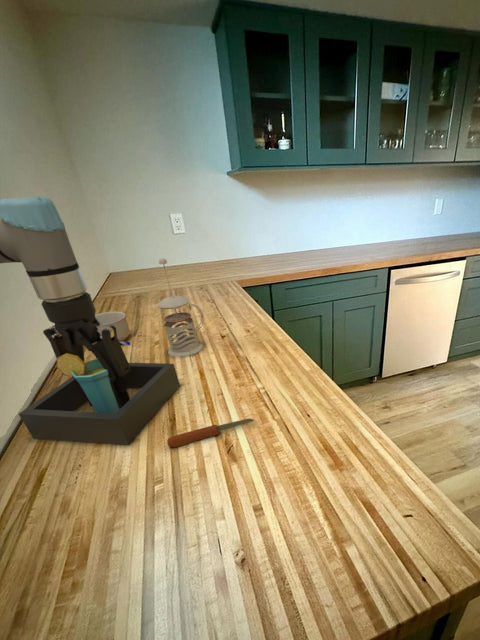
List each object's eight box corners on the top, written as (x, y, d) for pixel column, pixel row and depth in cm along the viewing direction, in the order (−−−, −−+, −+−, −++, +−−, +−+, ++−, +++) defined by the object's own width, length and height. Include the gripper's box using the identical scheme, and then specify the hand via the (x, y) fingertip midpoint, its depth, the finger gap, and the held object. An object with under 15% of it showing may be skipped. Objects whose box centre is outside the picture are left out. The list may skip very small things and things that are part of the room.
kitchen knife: (169, 450, 59) (166, 441, 58) (169, 445, 61) (166, 436, 60) (255, 426, 64) (254, 417, 63) (253, 421, 65) (252, 413, 64)
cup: (150, 392, 77) (130, 331, 69) (150, 411, 70) (127, 346, 63) (82, 408, 73) (52, 346, 65) (75, 429, 66) (42, 362, 59)
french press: (165, 347, 98) (139, 258, 86) (204, 337, 102) (185, 252, 90) (170, 360, 90) (143, 265, 78) (213, 349, 95) (193, 257, 82)
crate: (33, 438, 65) (18, 413, 62) (102, 383, 82) (93, 361, 79) (129, 445, 61) (117, 419, 58) (180, 386, 78) (173, 363, 75)
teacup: (127, 331, 111) (119, 308, 107) (137, 340, 104) (129, 316, 100) (81, 345, 104) (70, 320, 100) (88, 356, 96) (76, 330, 92)
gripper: (126, 288, 61) (161, 395, 72) (36, 290, 64) (83, 391, 76) (98, 302, 54) (141, 416, 66) (-1, 303, 58) (57, 411, 69)
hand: (110, 403), depth 71 cm, fingers closed on cup, 6 cm apart
